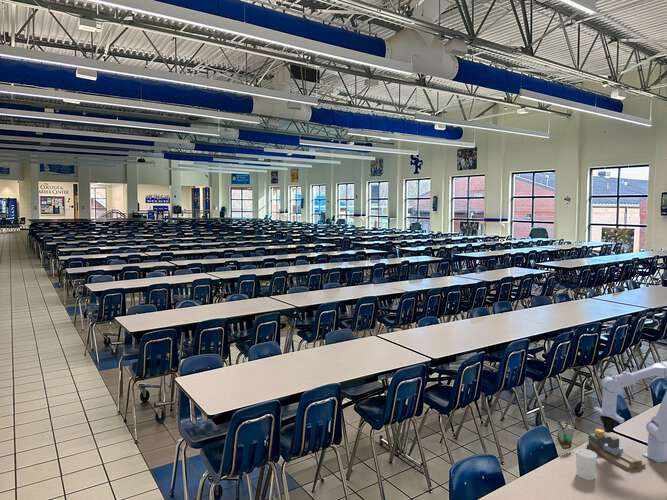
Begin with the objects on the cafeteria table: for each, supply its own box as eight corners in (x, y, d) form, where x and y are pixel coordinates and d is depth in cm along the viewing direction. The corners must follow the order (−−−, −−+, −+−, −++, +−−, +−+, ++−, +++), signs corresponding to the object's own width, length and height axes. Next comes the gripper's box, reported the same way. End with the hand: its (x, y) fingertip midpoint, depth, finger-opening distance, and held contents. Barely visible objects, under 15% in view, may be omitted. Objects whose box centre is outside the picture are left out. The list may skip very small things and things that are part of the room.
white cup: (578, 469, 207) (579, 446, 207) (598, 476, 202) (599, 453, 201) (572, 475, 202) (573, 452, 201) (592, 483, 196) (593, 459, 196)
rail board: (603, 444, 230) (603, 431, 230) (645, 467, 209) (645, 453, 209) (586, 447, 227) (587, 434, 227) (627, 470, 206) (628, 456, 206)
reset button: (599, 438, 229) (599, 428, 228) (606, 441, 225) (606, 431, 224) (592, 439, 227) (593, 429, 227) (599, 442, 224) (600, 432, 223)
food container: (577, 451, 223) (578, 430, 223) (563, 450, 224) (564, 429, 224) (569, 439, 235) (570, 420, 235) (556, 438, 236) (557, 418, 236)
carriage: (611, 448, 223) (612, 434, 222) (622, 454, 217) (623, 440, 217) (603, 449, 221) (603, 435, 221) (614, 456, 215) (615, 441, 215)
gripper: (589, 398, 226) (588, 426, 227) (616, 410, 213) (614, 440, 213) (601, 397, 228) (599, 424, 229) (628, 408, 215) (626, 438, 216)
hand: (607, 432), depth 222 cm, fingers closed
